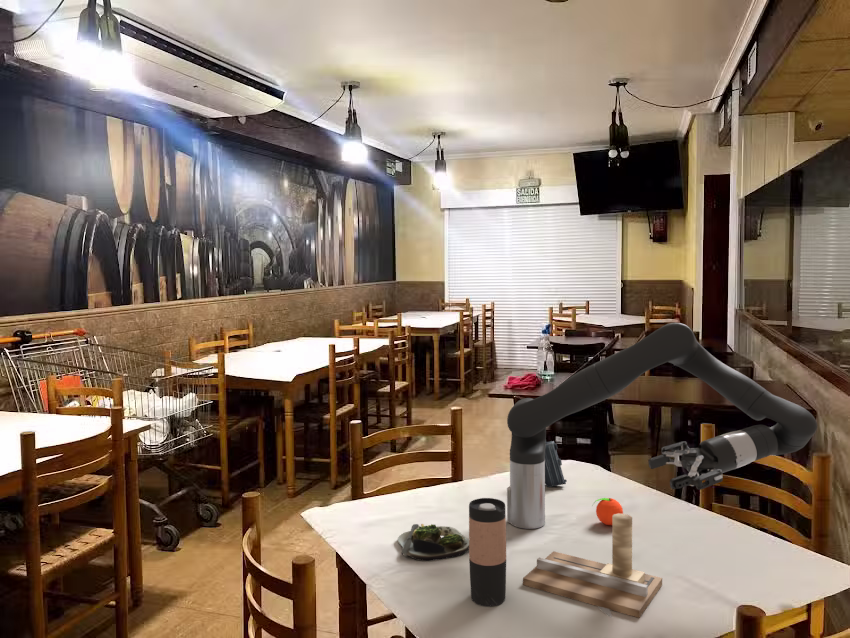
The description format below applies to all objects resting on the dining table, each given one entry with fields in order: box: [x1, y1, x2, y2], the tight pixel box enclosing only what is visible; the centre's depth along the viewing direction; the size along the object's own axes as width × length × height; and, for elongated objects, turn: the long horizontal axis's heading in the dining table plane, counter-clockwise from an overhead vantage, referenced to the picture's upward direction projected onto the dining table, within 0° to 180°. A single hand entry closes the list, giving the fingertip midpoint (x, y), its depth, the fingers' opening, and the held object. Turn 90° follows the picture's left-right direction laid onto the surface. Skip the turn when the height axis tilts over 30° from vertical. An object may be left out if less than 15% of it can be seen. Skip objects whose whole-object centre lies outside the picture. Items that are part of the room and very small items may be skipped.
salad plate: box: [397, 523, 469, 562], centre depth 164 cm, size 19×18×5 cm
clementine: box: [591, 497, 624, 526], centre depth 174 cm, size 8×7×7 cm
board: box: [522, 550, 663, 619], centre depth 141 cm, size 25×16×4 cm, turn 55°
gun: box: [545, 440, 567, 488], centre depth 207 cm, size 3×17×15 cm
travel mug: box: [468, 497, 507, 607], centre depth 136 cm, size 8×8×20 cm
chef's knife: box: [596, 606, 613, 618], centre depth 137 cm, size 19×1×3 cm
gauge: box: [600, 513, 646, 584], centre depth 140 cm, size 8×6×14 cm
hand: (659, 474), depth 141 cm, fingers open, 8 cm apart
